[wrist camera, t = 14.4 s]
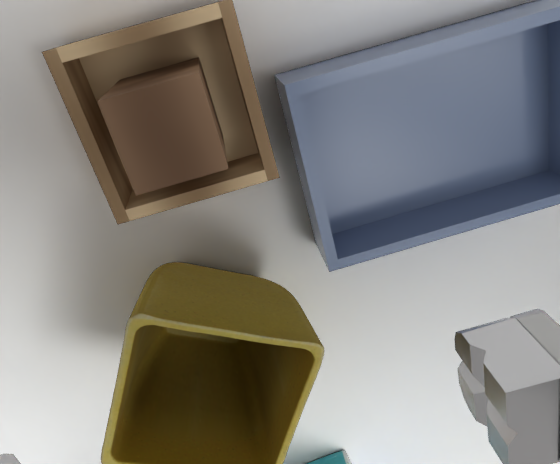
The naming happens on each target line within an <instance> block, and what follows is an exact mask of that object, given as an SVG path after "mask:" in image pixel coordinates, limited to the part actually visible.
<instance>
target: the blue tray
mask: <svg viewBox="0 0 560 464" xmlns="http://www.w3.org/2000/svg"><path fill="white" fill-rule="evenodd" d="M274 76H275V80H276V84H277V88H278V92H279V96H280V100H281V104H282V108H283V112H284V116H285V120H286V124H287V128H288V133H289V137H290V141H291V145H292V149H293V153H294V157H295V161H296V165H297V169H298V173H299V177H300V181H301V185H302V189H303V193H304V197H305V201H306V205H307V209H308V213H309V217H310V221H311V225H312V229H313V233H314V238H315V242H316V245H317V247H318V249H319V251H320V253H321V255H322V257H323V259H324V262H325V264H326V266H327V268H328V270H329V272H331V271H334V270H337V269H341V268H344V267H348V266H351V265H354V264H358V263H361V262H365V261H368V260H371V259H375V258H378V257H381V256H385V255H388V254H392V253H395V252H398V251H402V250H405V249H408V248H412V247H415V246H419V245H422V244H425V243H429V242H432V241H436V240H439V239H442V238H446V237H449V236H452V235H456V234H459V233H463V232H466V231H469V230H473V229H476V228H480V227H483V226H486V225H490V224H493V223H496V222H500V221H503V220H507V219H510V218H513V217H517V216H520V215H524V214H527V213H530V212H534V211H537V210H540V209H544V208H547V207H551V206H554V205H557V204H560V0H536V1H532V2H529V3H525V4H521V5H518V6H514V7H511V8H507V9H504V10H500V11H497V12H493V13H490V14H486V15H483V16H479V17H476V18H472V19H469V20H465V21H462V22H458V23H455V24H451V25H448V26H444V27H441V28H437V29H434V30H430V31H427V32H423V33H420V34H416V35H413V36H409V37H406V38H402V39H399V40H395V41H392V42H388V43H385V44H381V45H378V46H374V47H371V48H367V49H364V50H360V51H357V52H353V53H350V54H346V55H343V56H339V57H336V58H332V59H329V60H325V61H322V62H318V63H315V64H311V65H308V66H304V67H301V68H297V69H294V70H290V71H287V72H283V73H280V74H276V75H274Z"/></svg>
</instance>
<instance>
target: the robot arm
mask: <svg viewBox="0 0 560 464" xmlns="http://www.w3.org/2000/svg"><path fill="white" fill-rule="evenodd" d="M455 350H456V351H457V353H458V354H459V356H460V357H461V359H462V360H463V361H462V362H461V364H460V365H459V367H458V377H459V384H460V387H461V390H462V393H463V397H464V399H465V401H466V403H467V405H468V408H469V410H470V411H471V413H472V415H473V416H474V418H475V420H476V421H478V422H480V423H482V424H483V425H485V426H487V427H488V438H489V442H490V444H491V446H492V447H493V449H494V450H495V452H496V454H497V455H498V457H499V458H500V460H501V461H502V463H503V464H553V463H557V462H560V326H559V325H558V324H557V323H556V322H555V321H554V320H553V319H552V318H551V317H550V316H549V315H548V314H547V313H546V312H544V311H543V310H540V309H535V310H532V311H528V312H525V313H521V314H518V315H514V316H511V317H510V318H505V319H501V320H498V321H494V322H491V323H487V324H483V325H480V326H476V327H473V328H469V329H465V330H462V331H458V332H456V334H455ZM0 464H21V463H20V462H19V461H18V459H17V458H16V457H15V456H14V454H1V455H0Z"/></svg>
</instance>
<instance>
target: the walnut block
mask: <svg viewBox="0 0 560 464" xmlns="http://www.w3.org/2000/svg"><path fill="white" fill-rule="evenodd" d="M97 102H98V104H99V106H100V109H101V111H102V114H103V116H104V119H105V121H106V124H107V126H108V128H109V131H110V133H111V136H112V138H113V141H114V143H115V146H116V148H117V150H118V153H119V155H120V158H121V160H122V163H123V165H124V168H125V170H126V172H127V175H128V177H129V180H130V182H131V185H132V187H133V190H134V192H135V194H136V195H140V194H143V193H147V192H150V191H154V190H157V189H161V188H164V187H168V186H171V185H175V184H178V183H182V182H185V181H188V180H192V179H195V178H199V177H202V176H206V175H209V174H213V173H216V172H220V171H223V170H227V169H229V168H228V162H227V156H226V150H225V144H224V138H223V134H222V130H221V127H220V124H219V121H218V117H217V114H216V111H215V107H214V104H213V101H212V98H211V94H210V91H209V88H208V85H207V81H206V78H205V75H204V72H203V68H202V65H201V62H200V59H199V57H198V58H194V59H190V60H187V61H183V62H180V63H176V64H173V65H169V66H166V67H162V68H159V69H155V70H152V71H148V72H144V73H141V74H137V75H134V76H130V77H127V78H123V79H120V80H119V81H118V82H117V83H116V84H115V85H114V86H113V87H112V88H111V89H110V90H109V91H108V92H106V93H105V94H104V95H103V96H102V97H101V98H100V99H99V100H98V101H97Z"/></svg>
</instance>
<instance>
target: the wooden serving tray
mask: <svg viewBox="0 0 560 464" xmlns="http://www.w3.org/2000/svg"><path fill="white" fill-rule="evenodd" d="M42 53H43V56H44V58H45V60H46V63H47V65H48V67H49V69H50V72H51V74H52V76H53V78H54V81H55V83H56V85H57V88H58V90H59V92H60V94H61V97H62V99H63V101H64V103H65V106H66V108H67V110H68V113H69V115H70V117H71V119H72V122H73V124H74V126H75V128H76V131H77V133H78V135H79V137H80V140H81V142H82V144H83V147H84V149H85V151H86V153H87V156H88V158H89V160H90V162H91V165H92V167H93V169H94V172H95V174H96V176H97V178H98V181H99V183H100V185H101V187H102V190H103V192H104V194H105V197H106V199H107V201H108V203H109V206H110V208H111V210H112V212H113V215H114V217H115V219H116V222H117V224H121V223H125V222H128V221H132V220H135V219H139V218H142V217H145V216H149V215H152V214H156V213H159V212H163V211H166V210H170V209H173V208H176V207H180V206H183V205H187V204H190V203H194V202H197V201H201V200H204V199H207V198H211V197H214V196H218V195H221V194H225V193H228V192H232V191H235V190H238V189H242V188H245V187H249V186H252V185H256V184H259V183H263V182H266V181H269V180H273V179H276V178H280V177H279V174H278V170H277V166H276V162H275V159H274V155H273V151H272V147H271V144H270V140H269V136H268V132H267V129H266V125H265V121H264V117H263V114H262V110H261V106H260V102H259V99H258V95H257V91H256V87H255V84H254V80H253V76H252V72H251V69H250V65H249V61H248V57H247V54H246V50H245V46H244V42H243V39H242V35H241V31H240V27H239V24H238V20H237V16H236V12H235V9H234V5H233V1H232V0H223V1H219V2H216V3H212V4H209V5H205V6H202V7H198V8H195V9H191V10H187V11H184V12H180V13H177V14H173V15H170V16H166V17H163V18H159V19H155V20H152V21H148V22H145V23H141V24H138V25H134V26H131V27H127V28H123V29H120V30H116V31H113V32H109V33H106V34H102V35H99V36H95V37H91V38H88V39H84V40H81V41H77V42H74V43H70V44H66V45H63V46H60V47H57V48H53V49H50V50H47V51H44V52H42ZM198 57H199V59H200V62H201V65H202V68H203V72H204V75H205V78H206V81H207V85H208V88H209V91H210V94H211V98H212V101H213V104H214V107H215V111H216V114H217V117H218V121H219V124H220V127H221V130H222V134H223V138H224V144H225V150H226V156H227V162H228V168H229V169H227V170H223V171H220V172H216V173H213V174H209V175H206V176H202V177H199V178H195V179H192V180H188V181H185V182H182V183H178V184H175V185H171V186H168V187H164V188H161V189H157V190H154V191H150V192H147V193H143V194H140V195H136V194H135V192H134V190H133V187H132V185H131V182H130V180H129V177H128V175H127V172H126V170H125V168H124V165H123V163H122V160H121V158H120V155H119V153H118V150H117V148H116V146H115V143H114V141H113V138H112V136H111V133H110V131H109V128H108V126H107V124H106V121H105V119H104V116H103V114H102V111H101V109H100V106H99V104H98V102H97V101H98V100H99V99H100V98H101V97H102V96H103V95H104V94H105V93H106V92H108V91H109V90H110V89H111V88H112V87H113V86H114V85H115V84H116V83H117V82H118V81H119V80H120V79H123V78H127V77H130V76H134V75H137V74H141V73H144V72H148V71H152V70H155V69H159V68H162V67H166V66H169V65H173V64H176V63H180V62H183V61H187V60H190V59H194V58H198Z"/></svg>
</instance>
